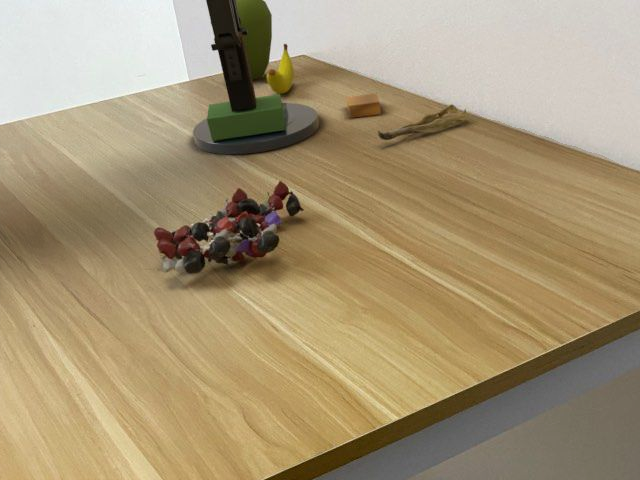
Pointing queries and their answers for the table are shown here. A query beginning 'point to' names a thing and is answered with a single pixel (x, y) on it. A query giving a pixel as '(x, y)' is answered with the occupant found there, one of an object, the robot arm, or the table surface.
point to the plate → (297, 128)
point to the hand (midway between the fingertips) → (243, 103)
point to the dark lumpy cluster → (227, 232)
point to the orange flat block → (363, 105)
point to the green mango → (256, 34)
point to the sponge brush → (246, 114)
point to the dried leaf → (428, 124)
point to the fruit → (281, 74)
